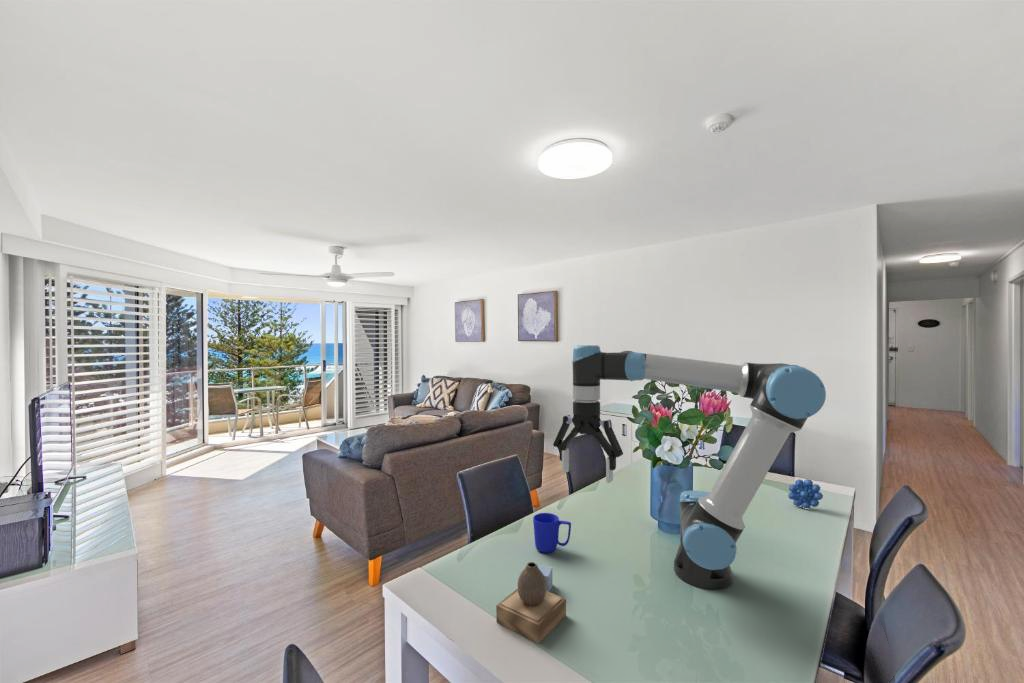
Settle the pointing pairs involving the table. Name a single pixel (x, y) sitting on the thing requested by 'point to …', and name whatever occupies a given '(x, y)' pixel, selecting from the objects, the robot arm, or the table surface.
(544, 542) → the mug
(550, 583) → the block
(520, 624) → the plinth
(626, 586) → the table surface
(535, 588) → the vase
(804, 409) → the robot arm
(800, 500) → the grapes
